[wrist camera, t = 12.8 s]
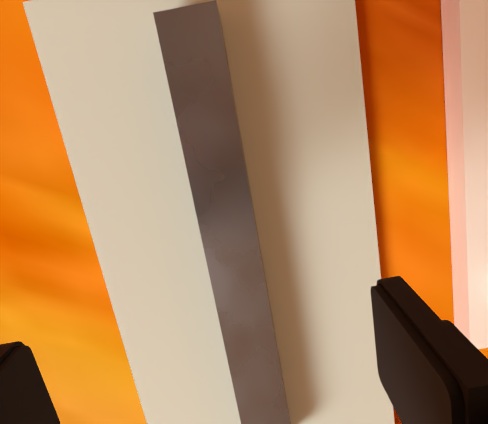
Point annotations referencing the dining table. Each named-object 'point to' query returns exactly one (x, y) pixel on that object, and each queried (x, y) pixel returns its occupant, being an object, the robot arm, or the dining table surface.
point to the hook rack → (467, 160)
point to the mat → (262, 191)
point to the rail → (223, 205)
